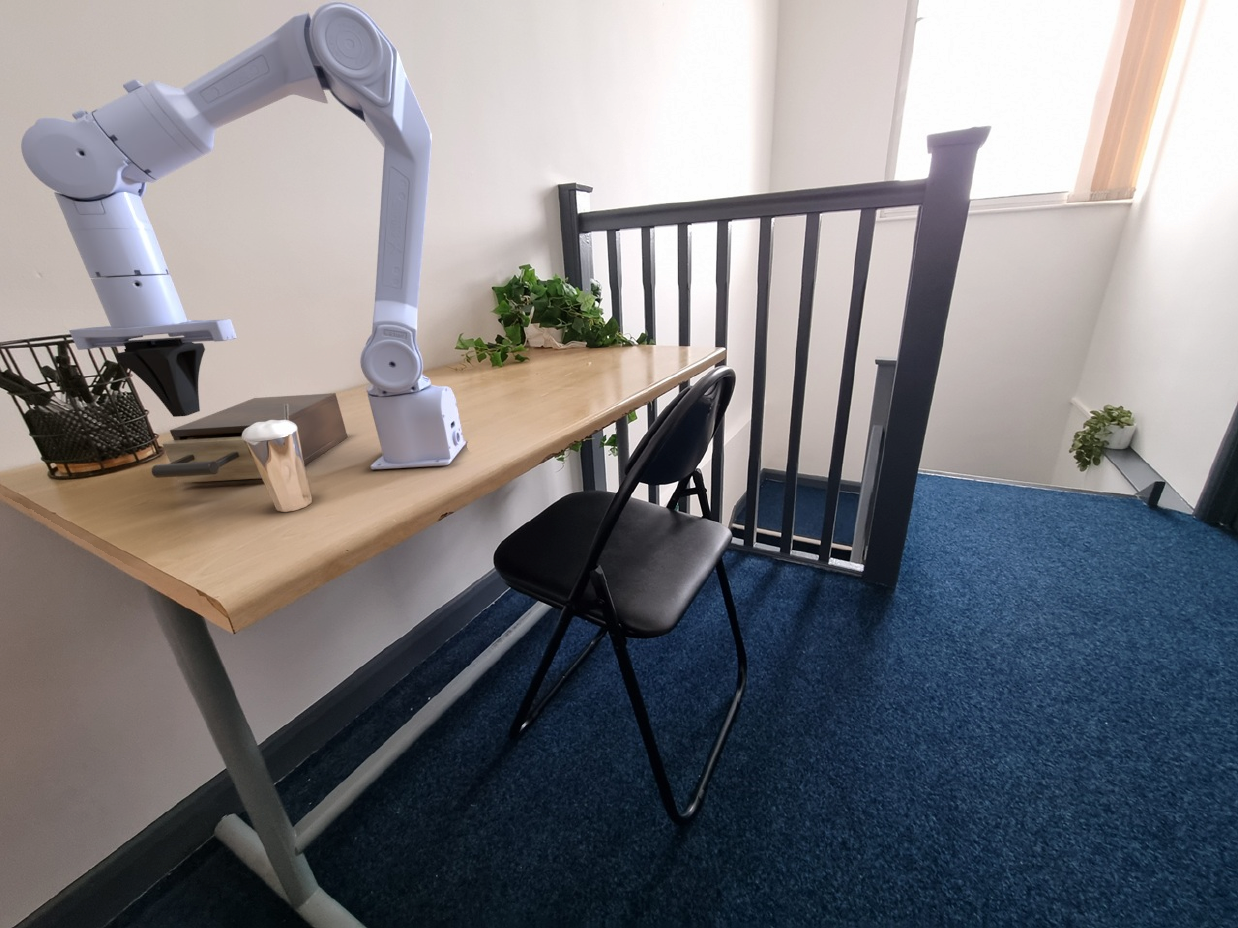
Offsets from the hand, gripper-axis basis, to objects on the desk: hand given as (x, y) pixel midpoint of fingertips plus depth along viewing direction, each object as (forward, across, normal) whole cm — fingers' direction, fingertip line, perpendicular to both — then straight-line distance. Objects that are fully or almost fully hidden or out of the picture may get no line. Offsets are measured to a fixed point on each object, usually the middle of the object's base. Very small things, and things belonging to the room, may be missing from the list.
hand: (186, 413), depth 52 cm
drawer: (+8, 0, -6) cm, 10 cm away
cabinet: (+9, 0, -11) cm, 14 cm away
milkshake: (+9, -12, +4) cm, 15 cm away
